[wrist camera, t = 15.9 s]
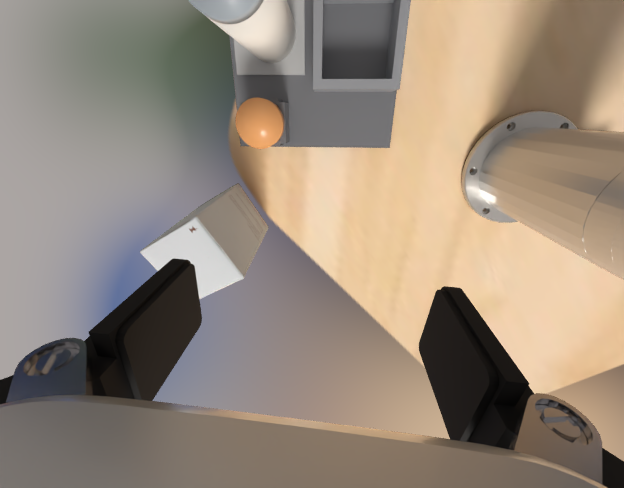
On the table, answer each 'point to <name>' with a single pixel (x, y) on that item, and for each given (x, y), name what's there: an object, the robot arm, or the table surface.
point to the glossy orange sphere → (259, 123)
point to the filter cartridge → (254, 25)
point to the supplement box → (213, 240)
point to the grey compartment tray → (332, 73)
